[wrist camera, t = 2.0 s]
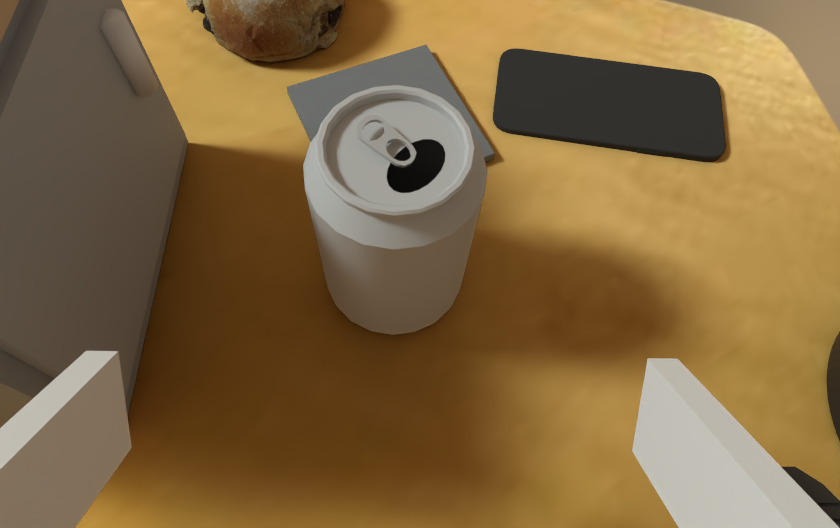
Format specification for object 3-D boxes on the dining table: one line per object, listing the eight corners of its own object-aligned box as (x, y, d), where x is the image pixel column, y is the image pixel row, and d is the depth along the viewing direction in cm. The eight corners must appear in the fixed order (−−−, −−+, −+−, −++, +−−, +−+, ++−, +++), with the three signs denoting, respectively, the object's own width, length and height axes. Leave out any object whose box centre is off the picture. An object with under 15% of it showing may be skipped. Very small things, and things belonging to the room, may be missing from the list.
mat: (425, 51, 41) (426, 44, 41) (493, 159, 37) (494, 153, 37) (288, 93, 39) (286, 87, 38) (344, 213, 35) (343, 207, 35)
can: (407, 367, 31) (416, 264, 20) (298, 288, 33) (254, 154, 22) (486, 266, 34) (530, 129, 23) (382, 198, 36) (379, 41, 25)
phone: (501, 45, 41) (718, 73, 41) (499, 54, 42) (712, 82, 42) (491, 127, 38) (728, 160, 37) (489, 136, 39) (721, 168, 38)
